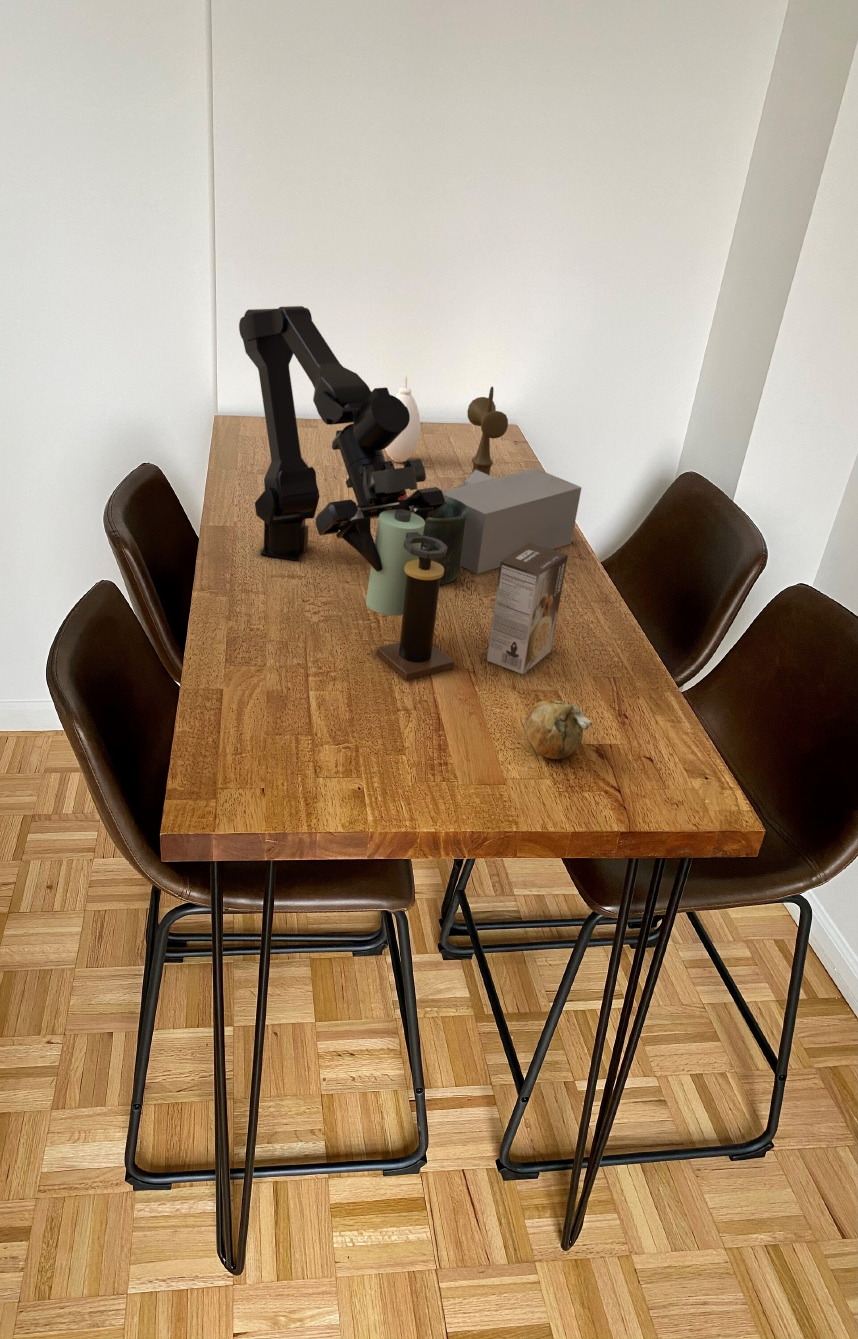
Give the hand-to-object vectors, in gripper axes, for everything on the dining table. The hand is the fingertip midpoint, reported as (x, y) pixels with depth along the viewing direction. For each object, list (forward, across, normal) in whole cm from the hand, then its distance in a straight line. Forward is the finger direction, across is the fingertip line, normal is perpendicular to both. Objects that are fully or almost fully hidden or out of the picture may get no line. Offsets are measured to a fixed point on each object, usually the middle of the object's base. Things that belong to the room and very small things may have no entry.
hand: (400, 566), depth 147 cm
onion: (+31, +4, -14) cm, 34 cm away
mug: (-4, +17, +22) cm, 28 cm away
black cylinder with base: (+13, 0, +5) cm, 14 cm away
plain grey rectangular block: (-11, +36, +29) cm, 48 cm away
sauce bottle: (-38, +43, +56) cm, 81 cm away
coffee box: (+16, +15, +1) cm, 22 cm away
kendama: (-26, +52, +45) cm, 74 cm away
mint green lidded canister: (+6, -1, +4) cm, 7 cm away
